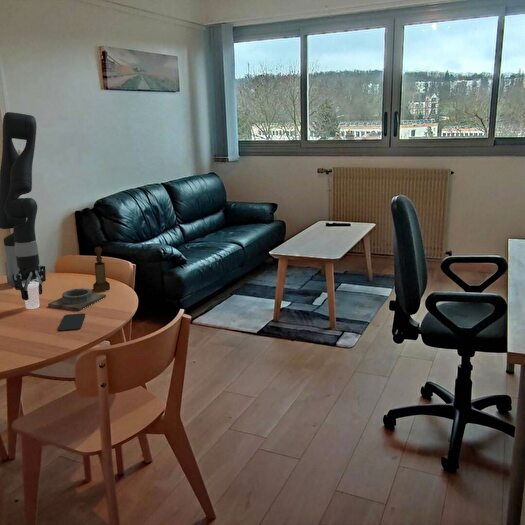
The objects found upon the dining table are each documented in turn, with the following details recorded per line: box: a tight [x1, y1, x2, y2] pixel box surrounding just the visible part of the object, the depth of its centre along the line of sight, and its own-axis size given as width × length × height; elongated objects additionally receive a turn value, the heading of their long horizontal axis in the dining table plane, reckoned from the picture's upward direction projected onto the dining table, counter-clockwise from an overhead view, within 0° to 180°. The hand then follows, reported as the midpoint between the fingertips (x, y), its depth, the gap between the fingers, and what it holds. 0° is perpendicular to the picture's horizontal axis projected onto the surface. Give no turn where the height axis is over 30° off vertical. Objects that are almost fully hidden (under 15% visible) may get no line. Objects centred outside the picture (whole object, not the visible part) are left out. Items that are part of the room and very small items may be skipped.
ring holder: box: [47, 288, 107, 312], centre depth 199 cm, size 14×16×4 cm
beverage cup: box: [23, 281, 40, 310], centre depth 193 cm, size 6×6×14 cm
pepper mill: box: [92, 246, 111, 293], centre depth 212 cm, size 7×6×18 cm
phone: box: [57, 313, 86, 332], centre depth 180 cm, size 7×1×15 cm
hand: (32, 296), depth 194 cm, fingers open, 6 cm apart
